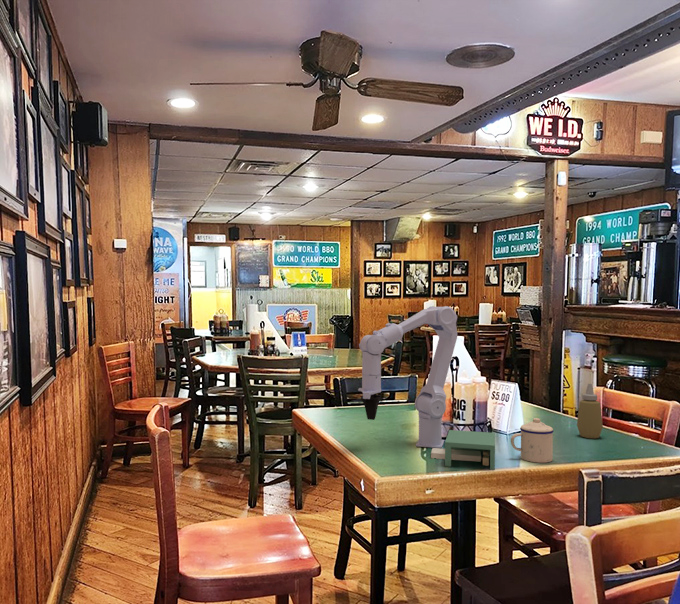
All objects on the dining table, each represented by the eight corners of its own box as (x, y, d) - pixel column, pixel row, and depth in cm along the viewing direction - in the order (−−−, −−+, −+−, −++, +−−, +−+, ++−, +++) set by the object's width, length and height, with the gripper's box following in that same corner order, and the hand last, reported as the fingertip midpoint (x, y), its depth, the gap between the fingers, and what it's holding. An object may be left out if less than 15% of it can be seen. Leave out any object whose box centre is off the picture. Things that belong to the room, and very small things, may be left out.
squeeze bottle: (571, 435, 189) (571, 383, 189) (587, 433, 193) (587, 381, 193) (591, 440, 182) (592, 386, 182) (608, 438, 185) (608, 384, 186)
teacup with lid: (546, 454, 164) (546, 415, 164) (558, 463, 155) (558, 421, 155) (505, 454, 164) (506, 415, 164) (516, 463, 154) (516, 421, 155)
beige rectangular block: (432, 454, 165) (432, 447, 165) (480, 457, 162) (480, 451, 162) (431, 459, 159) (431, 452, 159) (481, 463, 156) (481, 456, 156)
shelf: (449, 451, 167) (449, 429, 167) (494, 454, 163) (494, 432, 163) (444, 465, 151) (445, 442, 151) (494, 469, 148) (494, 445, 148)
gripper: (364, 371, 176) (363, 414, 176) (353, 376, 162) (352, 423, 162) (385, 372, 174) (385, 415, 174) (376, 377, 160) (376, 424, 160)
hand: (371, 419), depth 168 cm, fingers closed
